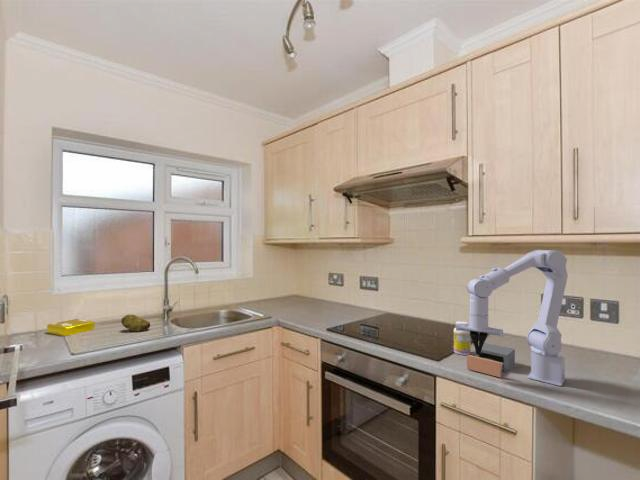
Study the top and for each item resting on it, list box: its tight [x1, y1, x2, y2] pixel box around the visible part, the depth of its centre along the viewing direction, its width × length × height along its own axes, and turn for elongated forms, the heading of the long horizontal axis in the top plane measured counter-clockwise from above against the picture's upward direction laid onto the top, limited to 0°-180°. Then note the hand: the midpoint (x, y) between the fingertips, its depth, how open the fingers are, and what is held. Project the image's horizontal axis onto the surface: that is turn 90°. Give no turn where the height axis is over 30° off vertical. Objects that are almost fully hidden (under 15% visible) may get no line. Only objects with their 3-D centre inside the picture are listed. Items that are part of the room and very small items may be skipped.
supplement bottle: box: [453, 320, 472, 356], centre depth 139 cm, size 7×7×13 cm
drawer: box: [466, 354, 504, 378], centre depth 120 cm, size 11×10×5 cm
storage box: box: [474, 342, 516, 373], centre depth 126 cm, size 11×10×6 cm
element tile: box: [46, 318, 95, 337], centre depth 166 cm, size 15×15×5 cm
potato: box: [120, 314, 151, 332], centre depth 168 cm, size 8×13×8 cm, turn 79°
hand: (478, 354), depth 113 cm, fingers closed
